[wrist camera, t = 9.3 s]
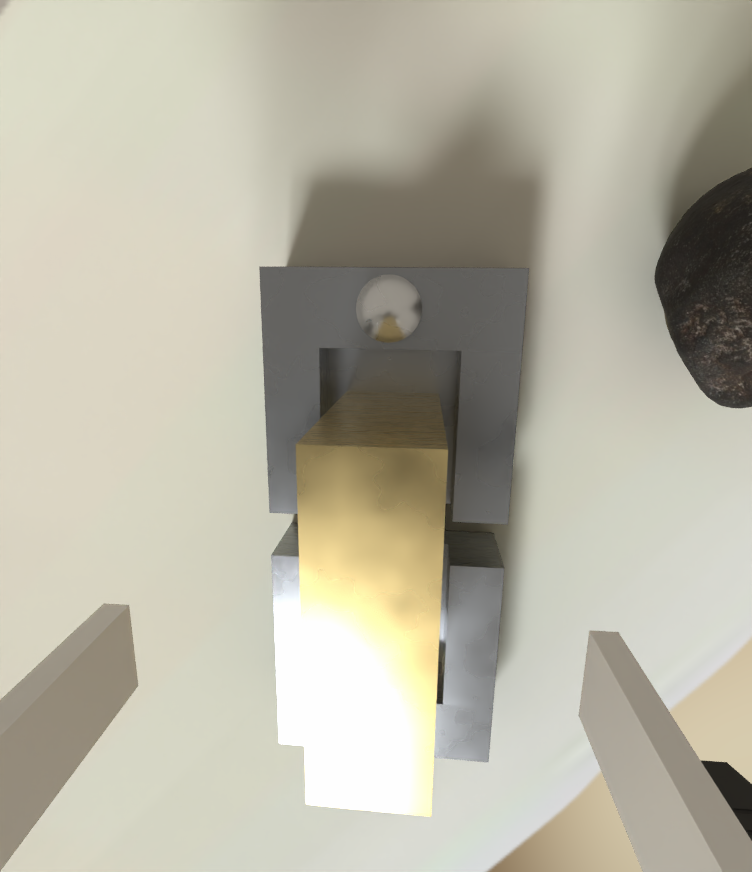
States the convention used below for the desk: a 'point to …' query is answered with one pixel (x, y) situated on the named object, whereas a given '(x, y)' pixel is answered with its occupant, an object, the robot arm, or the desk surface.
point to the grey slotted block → (465, 433)
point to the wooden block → (371, 599)
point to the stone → (713, 291)
